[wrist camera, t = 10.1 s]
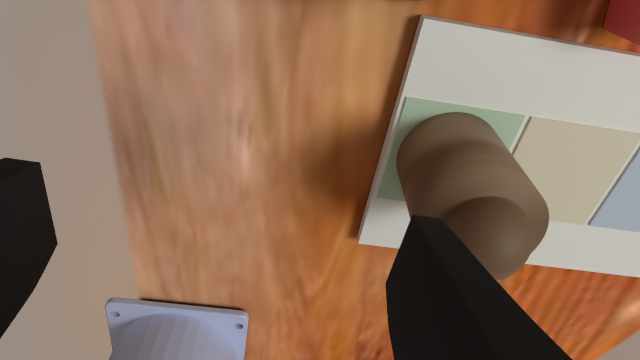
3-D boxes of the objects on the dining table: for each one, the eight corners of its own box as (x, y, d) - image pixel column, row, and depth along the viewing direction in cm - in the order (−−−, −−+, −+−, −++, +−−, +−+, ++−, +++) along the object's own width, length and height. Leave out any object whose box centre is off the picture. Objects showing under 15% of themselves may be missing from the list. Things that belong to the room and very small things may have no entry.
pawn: (474, 206, 20) (531, 322, 15) (383, 190, 20) (408, 304, 14) (517, 122, 18) (604, 224, 12) (415, 102, 17) (458, 200, 12)
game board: (641, 270, 24) (650, 279, 23) (357, 235, 22) (358, 244, 21) (798, 81, 17) (815, 88, 17) (420, 14, 16) (424, 19, 15)
